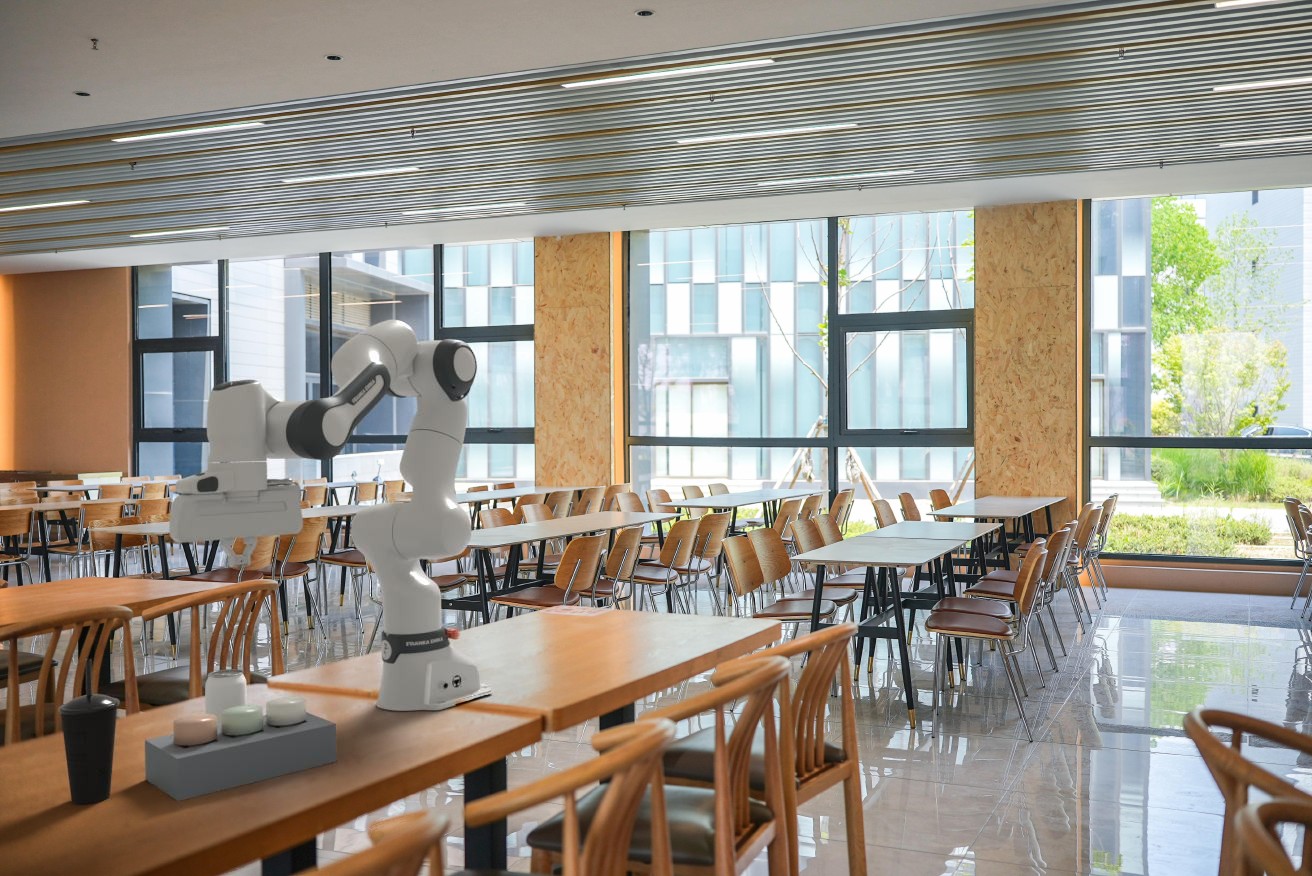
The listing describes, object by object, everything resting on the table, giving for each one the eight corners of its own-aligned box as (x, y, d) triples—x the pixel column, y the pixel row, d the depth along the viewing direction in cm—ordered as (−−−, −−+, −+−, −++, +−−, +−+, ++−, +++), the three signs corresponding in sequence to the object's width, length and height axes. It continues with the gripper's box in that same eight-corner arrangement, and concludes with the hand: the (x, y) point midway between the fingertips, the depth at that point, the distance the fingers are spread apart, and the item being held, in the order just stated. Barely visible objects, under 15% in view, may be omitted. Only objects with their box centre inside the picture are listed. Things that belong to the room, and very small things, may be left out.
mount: (298, 744, 169) (297, 708, 169) (336, 761, 159) (336, 723, 159) (145, 779, 152) (144, 739, 152) (177, 800, 142) (177, 758, 142)
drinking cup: (56, 811, 139) (53, 667, 139) (64, 794, 146) (61, 657, 146) (118, 802, 142) (116, 661, 142) (123, 786, 149) (120, 652, 149)
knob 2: (296, 746, 165) (295, 694, 165) (313, 754, 160) (312, 700, 161) (260, 755, 161) (259, 701, 161) (276, 762, 156) (275, 708, 156)
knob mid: (254, 756, 160) (253, 703, 160) (270, 764, 156) (269, 709, 156) (216, 765, 156) (214, 710, 156) (231, 773, 151) (230, 717, 152)
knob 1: (209, 766, 155) (208, 711, 155) (224, 775, 151) (223, 718, 151) (168, 776, 151) (167, 719, 151) (182, 785, 147) (181, 727, 147)
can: (232, 749, 167) (230, 677, 167) (197, 748, 168) (196, 676, 168) (255, 738, 173) (254, 668, 173) (221, 737, 174) (220, 668, 175)
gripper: (292, 477, 171) (293, 559, 170) (164, 482, 156) (166, 571, 156) (308, 478, 166) (310, 561, 166) (179, 483, 152) (180, 574, 152)
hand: (239, 566), depth 161 cm, fingers closed
